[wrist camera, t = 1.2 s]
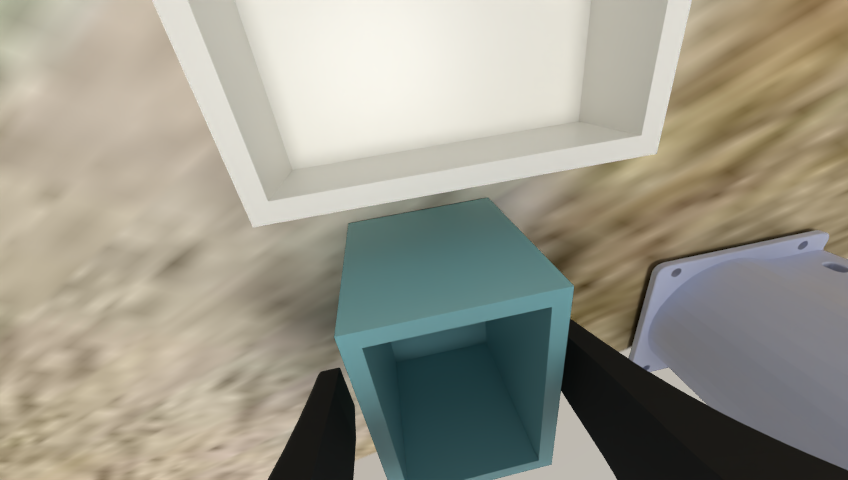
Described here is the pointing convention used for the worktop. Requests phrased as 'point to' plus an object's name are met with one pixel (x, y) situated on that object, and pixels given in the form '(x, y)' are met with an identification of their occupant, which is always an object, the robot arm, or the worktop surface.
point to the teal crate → (453, 342)
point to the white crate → (420, 92)
